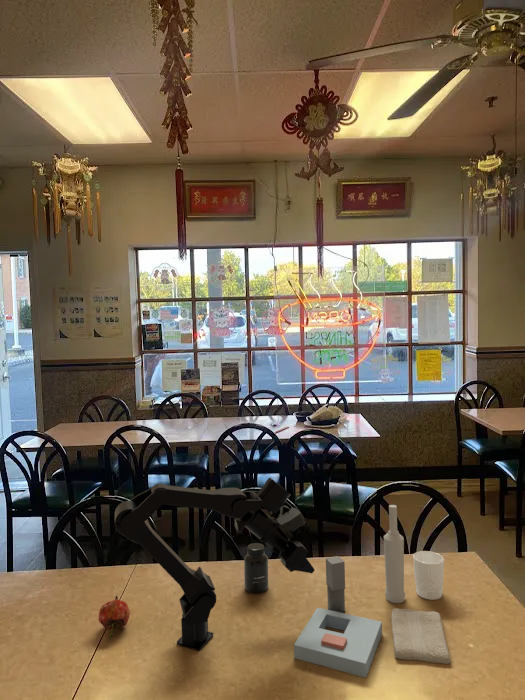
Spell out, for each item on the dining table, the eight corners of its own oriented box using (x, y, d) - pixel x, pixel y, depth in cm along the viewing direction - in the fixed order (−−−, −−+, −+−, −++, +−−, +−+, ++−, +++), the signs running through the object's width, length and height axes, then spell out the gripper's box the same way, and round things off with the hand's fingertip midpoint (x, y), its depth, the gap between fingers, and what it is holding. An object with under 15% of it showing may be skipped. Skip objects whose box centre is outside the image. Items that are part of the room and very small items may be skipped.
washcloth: (439, 619, 121) (438, 607, 121) (452, 668, 103) (452, 653, 103) (390, 615, 123) (389, 603, 123) (394, 662, 106) (394, 648, 105)
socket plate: (366, 677, 100) (365, 659, 100) (294, 658, 107) (293, 641, 107) (382, 634, 115) (381, 618, 115) (317, 619, 122) (317, 604, 122)
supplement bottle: (258, 596, 133) (257, 553, 133) (239, 589, 137) (238, 547, 137) (273, 586, 139) (272, 544, 138) (254, 579, 143) (253, 539, 142)
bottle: (406, 604, 127) (403, 509, 126) (385, 602, 128) (383, 509, 127) (404, 594, 132) (402, 503, 132) (384, 592, 133) (382, 502, 133)
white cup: (449, 601, 128) (448, 563, 128) (419, 601, 128) (418, 564, 128) (438, 585, 136) (438, 550, 136) (410, 586, 136) (409, 551, 136)
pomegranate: (129, 643, 118) (138, 601, 126) (118, 631, 114) (128, 588, 121) (100, 645, 119) (111, 603, 127) (88, 633, 115) (100, 590, 122)
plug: (332, 615, 123) (330, 565, 123) (325, 606, 127) (323, 557, 127) (348, 612, 124) (346, 562, 124) (340, 603, 129) (338, 555, 128)
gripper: (298, 513, 112) (342, 552, 116) (272, 489, 130) (311, 524, 134) (267, 552, 110) (313, 591, 114) (244, 523, 128) (285, 557, 131)
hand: (305, 563), depth 123 cm, fingers open, 9 cm apart
